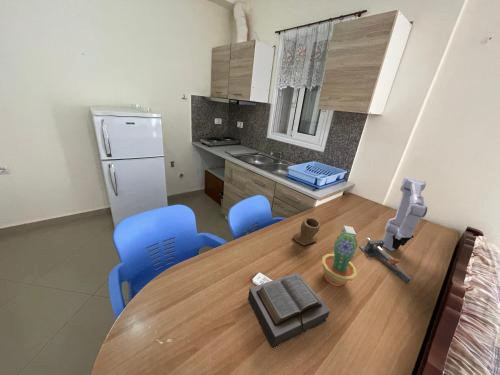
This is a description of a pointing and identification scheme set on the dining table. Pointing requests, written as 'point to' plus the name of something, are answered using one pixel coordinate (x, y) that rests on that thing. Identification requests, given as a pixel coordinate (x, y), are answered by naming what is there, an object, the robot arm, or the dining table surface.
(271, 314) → the bible
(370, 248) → the grey hammer
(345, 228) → the small box
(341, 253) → the potted cactus
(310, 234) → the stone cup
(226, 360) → the dining table surface
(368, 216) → the dining table surface
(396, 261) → the metal rod with plate
